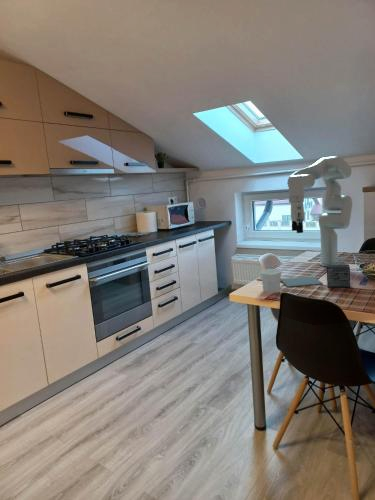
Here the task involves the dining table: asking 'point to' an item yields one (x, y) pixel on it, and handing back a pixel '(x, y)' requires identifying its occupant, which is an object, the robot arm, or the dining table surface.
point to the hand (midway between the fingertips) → (297, 231)
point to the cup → (271, 280)
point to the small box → (338, 276)
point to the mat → (301, 281)
